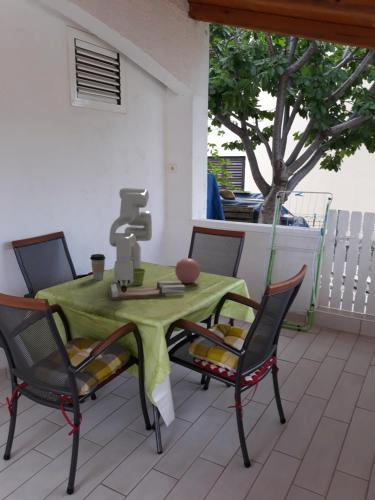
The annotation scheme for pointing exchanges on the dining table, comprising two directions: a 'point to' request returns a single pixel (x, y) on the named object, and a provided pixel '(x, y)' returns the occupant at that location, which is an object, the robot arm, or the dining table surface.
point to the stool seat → (149, 290)
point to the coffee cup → (98, 265)
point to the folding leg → (114, 290)
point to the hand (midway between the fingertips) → (123, 292)
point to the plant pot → (138, 276)
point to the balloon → (187, 270)
